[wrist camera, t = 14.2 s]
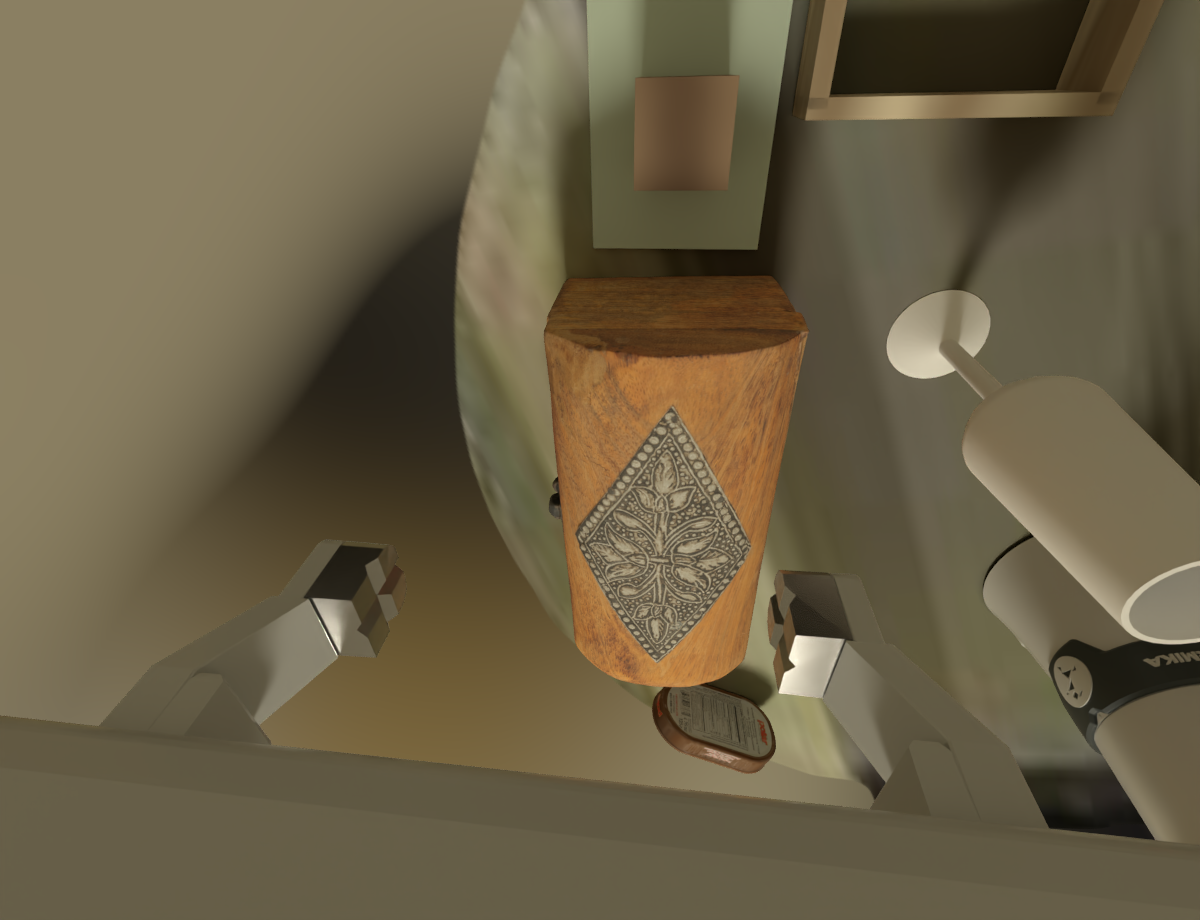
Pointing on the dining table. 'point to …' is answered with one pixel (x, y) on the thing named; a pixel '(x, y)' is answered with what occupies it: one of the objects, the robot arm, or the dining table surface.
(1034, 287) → the dining table surface
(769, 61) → the felt mat
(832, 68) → the birch u-shaped frame
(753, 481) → the wooden box
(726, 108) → the walnut block
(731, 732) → the tin
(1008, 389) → the champagne flute
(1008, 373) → the dining table surface
